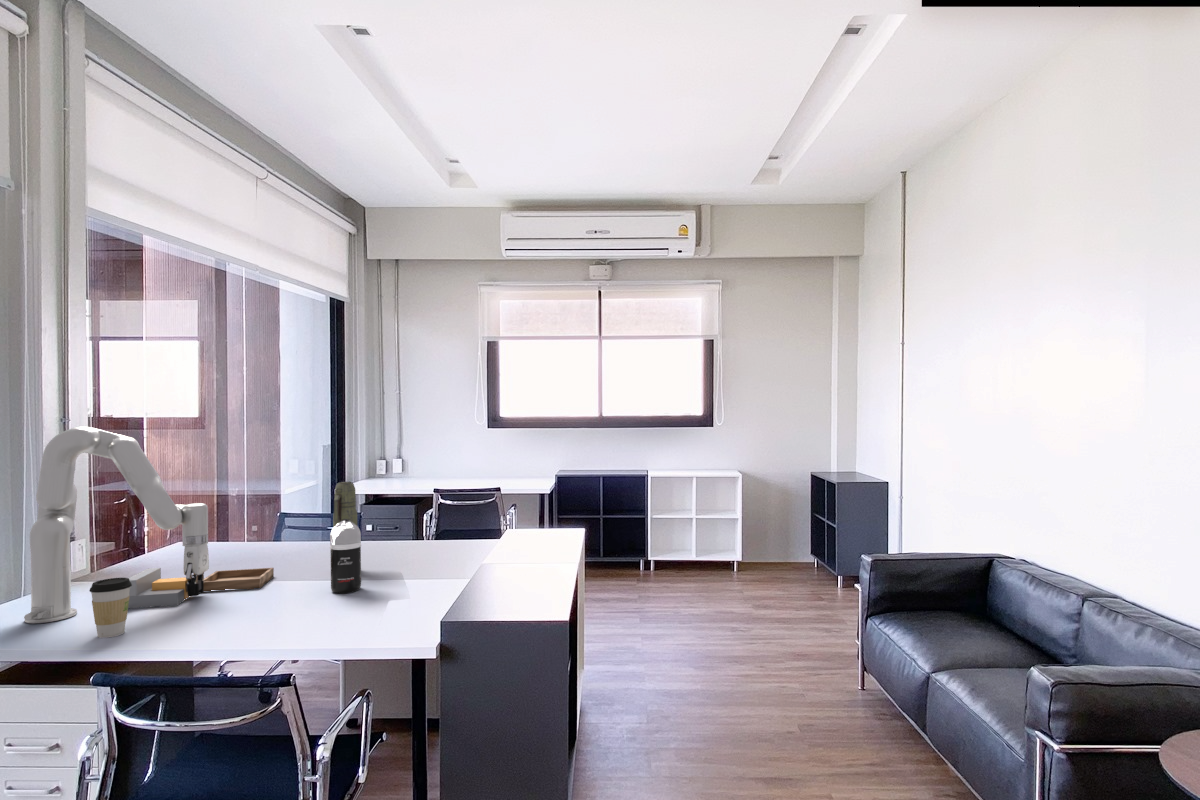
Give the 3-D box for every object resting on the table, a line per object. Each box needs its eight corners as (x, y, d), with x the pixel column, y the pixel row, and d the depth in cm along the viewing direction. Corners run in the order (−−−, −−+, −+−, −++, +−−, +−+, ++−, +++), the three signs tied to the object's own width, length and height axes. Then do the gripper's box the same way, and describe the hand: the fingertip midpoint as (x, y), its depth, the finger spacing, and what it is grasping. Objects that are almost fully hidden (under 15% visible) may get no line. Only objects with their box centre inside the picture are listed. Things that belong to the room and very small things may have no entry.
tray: (259, 588, 240) (259, 578, 240) (198, 592, 236) (197, 582, 236) (273, 576, 258) (273, 567, 258) (216, 580, 254) (216, 570, 254)
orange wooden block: (196, 599, 227) (196, 580, 228) (152, 602, 225) (151, 582, 225) (202, 595, 233) (202, 576, 233) (159, 598, 230) (159, 578, 230)
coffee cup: (140, 628, 197) (139, 576, 197) (117, 639, 187) (116, 585, 187) (105, 629, 197) (105, 577, 197) (80, 640, 187) (80, 586, 187)
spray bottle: (330, 588, 239) (329, 517, 239) (361, 585, 242) (360, 515, 243) (330, 595, 229) (329, 521, 230) (362, 592, 233) (361, 519, 233)
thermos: (327, 575, 259) (326, 483, 259) (342, 568, 271) (341, 480, 271) (348, 575, 258) (347, 483, 258) (363, 568, 269) (362, 480, 270)
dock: (177, 605, 221) (177, 577, 221) (122, 608, 217) (122, 580, 218) (198, 591, 238) (198, 565, 238) (148, 594, 235) (148, 568, 235)
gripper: (198, 544, 223) (198, 599, 223) (216, 535, 239) (216, 587, 239) (173, 545, 221) (173, 601, 221) (192, 536, 238) (193, 588, 237)
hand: (195, 593), depth 230 cm, fingers closed on orange wooden block, 3 cm apart
